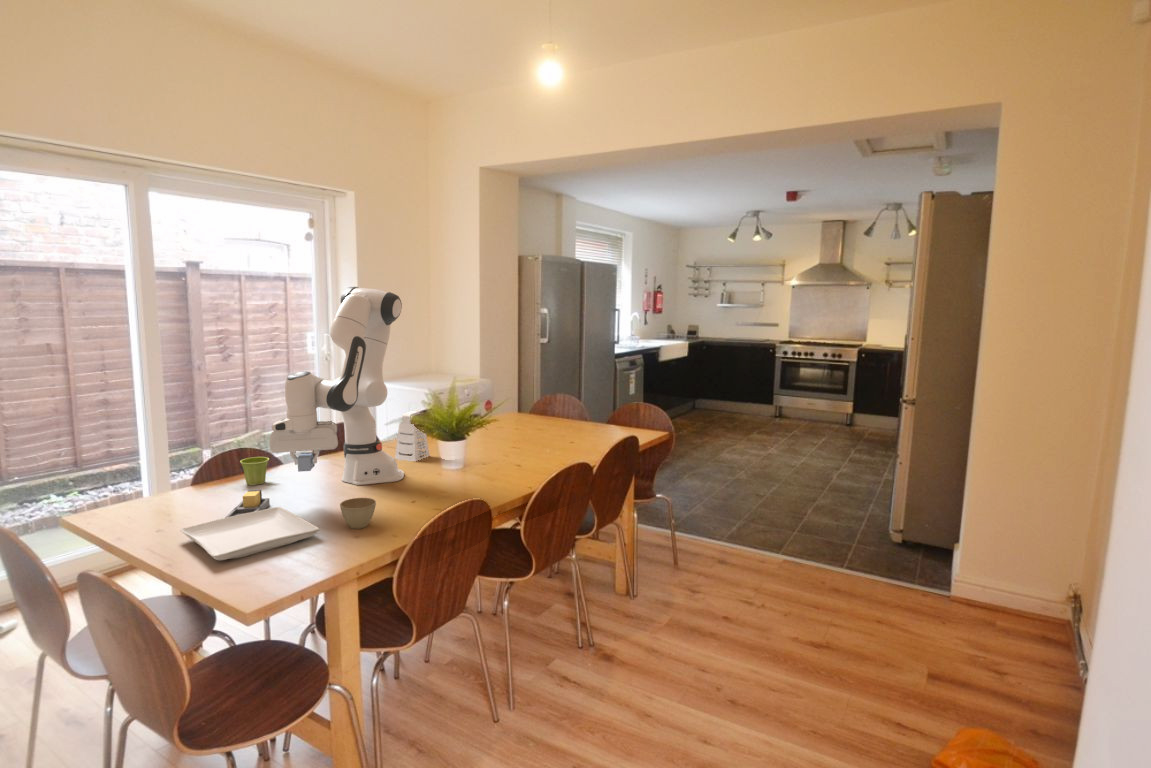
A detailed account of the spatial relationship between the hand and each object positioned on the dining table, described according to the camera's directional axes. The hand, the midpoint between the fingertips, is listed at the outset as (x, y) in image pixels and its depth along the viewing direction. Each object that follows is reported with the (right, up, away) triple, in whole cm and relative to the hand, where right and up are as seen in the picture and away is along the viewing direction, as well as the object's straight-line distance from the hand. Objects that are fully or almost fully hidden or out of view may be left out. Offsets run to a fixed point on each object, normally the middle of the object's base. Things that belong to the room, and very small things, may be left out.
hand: (306, 463), depth 196 cm
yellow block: (-15, -13, -5) cm, 20 cm away
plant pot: (-29, -11, +24) cm, 40 cm away
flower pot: (+23, -17, -17) cm, 34 cm away
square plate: (-2, -18, -29) cm, 34 cm away
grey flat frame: (-14, -15, -9) cm, 22 cm away
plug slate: (0, -2, 0) cm, 2 cm away
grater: (+17, -6, +64) cm, 66 cm away
